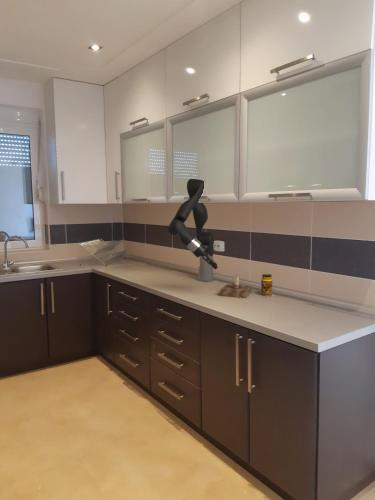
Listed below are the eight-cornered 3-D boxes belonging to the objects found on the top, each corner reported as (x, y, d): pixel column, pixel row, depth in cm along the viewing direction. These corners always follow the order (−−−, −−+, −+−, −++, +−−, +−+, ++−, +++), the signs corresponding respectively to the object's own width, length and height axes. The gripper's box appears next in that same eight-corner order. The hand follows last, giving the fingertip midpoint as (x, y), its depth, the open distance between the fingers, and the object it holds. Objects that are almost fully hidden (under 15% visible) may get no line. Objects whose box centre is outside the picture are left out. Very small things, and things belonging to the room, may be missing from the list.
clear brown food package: (220, 296, 222) (220, 289, 221) (226, 290, 235) (226, 284, 234) (246, 298, 216) (246, 290, 216) (251, 292, 229) (251, 285, 229)
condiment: (264, 297, 218) (264, 276, 217) (256, 294, 226) (256, 273, 225) (275, 296, 221) (276, 275, 219) (267, 292, 229) (268, 272, 227)
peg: (231, 294, 225) (231, 277, 224) (233, 293, 228) (233, 276, 227) (238, 295, 223) (238, 277, 222) (239, 293, 227) (239, 276, 226)
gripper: (201, 244, 216) (221, 264, 217) (200, 241, 230) (220, 260, 231) (191, 253, 216) (212, 274, 217) (191, 250, 230) (211, 269, 232)
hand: (216, 267), depth 224 cm, fingers open, 8 cm apart
